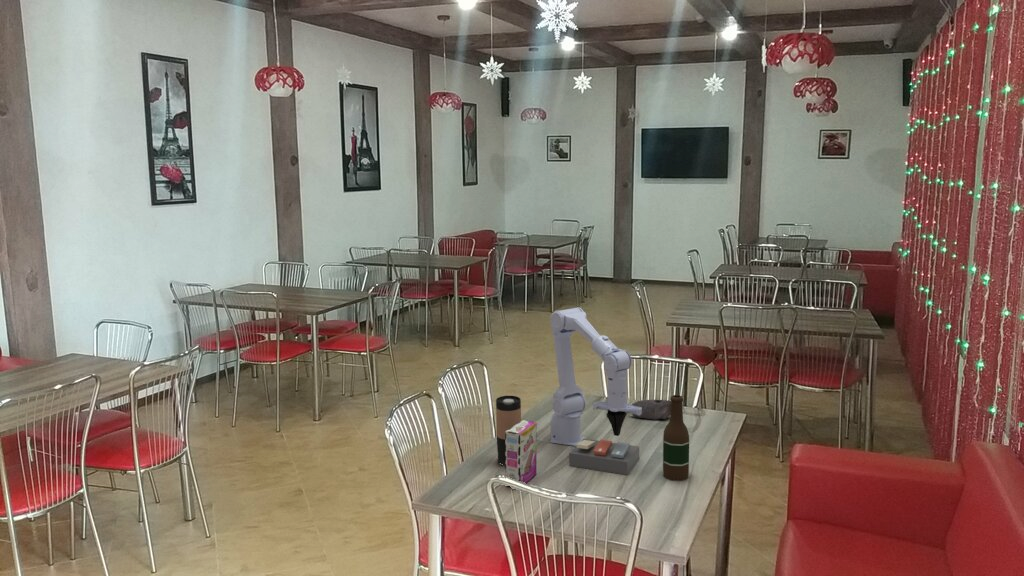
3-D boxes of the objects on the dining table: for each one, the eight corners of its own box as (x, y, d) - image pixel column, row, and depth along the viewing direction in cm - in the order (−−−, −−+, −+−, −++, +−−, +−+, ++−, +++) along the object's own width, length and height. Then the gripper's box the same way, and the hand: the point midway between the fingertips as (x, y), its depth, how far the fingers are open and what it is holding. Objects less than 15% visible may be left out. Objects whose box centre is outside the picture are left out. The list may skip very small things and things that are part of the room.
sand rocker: (576, 447, 228) (576, 443, 228) (584, 443, 235) (584, 439, 235) (587, 449, 227) (587, 445, 227) (595, 444, 233) (595, 441, 233)
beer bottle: (683, 483, 215) (685, 402, 211) (657, 477, 219) (658, 397, 215) (693, 473, 221) (694, 394, 217) (667, 468, 225) (668, 390, 221)
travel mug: (509, 454, 238) (508, 393, 234) (527, 461, 232) (526, 398, 229) (492, 462, 232) (490, 399, 229) (509, 468, 227) (508, 405, 224)
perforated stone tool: (628, 419, 268) (628, 400, 266) (630, 414, 273) (630, 396, 271) (671, 422, 264) (672, 403, 262) (672, 417, 268) (673, 398, 267)
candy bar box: (520, 489, 213) (519, 434, 210) (505, 486, 215) (503, 431, 212) (538, 474, 222) (537, 421, 220) (522, 471, 225) (521, 419, 222)
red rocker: (593, 453, 226) (593, 450, 226) (600, 442, 232) (600, 439, 232) (605, 455, 224) (604, 452, 224) (612, 444, 230) (612, 440, 230)
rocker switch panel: (569, 465, 228) (569, 452, 228) (583, 450, 240) (583, 437, 239) (627, 475, 221) (627, 461, 220) (639, 458, 232) (639, 445, 232)
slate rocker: (611, 456, 224) (611, 453, 223) (618, 444, 230) (618, 441, 229) (623, 458, 222) (622, 455, 222) (629, 446, 228) (629, 443, 228)
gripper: (589, 392, 225) (589, 435, 227) (637, 398, 219) (636, 442, 221) (597, 385, 231) (597, 427, 233) (643, 391, 225) (643, 434, 227)
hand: (617, 434), depth 228 cm, fingers closed
